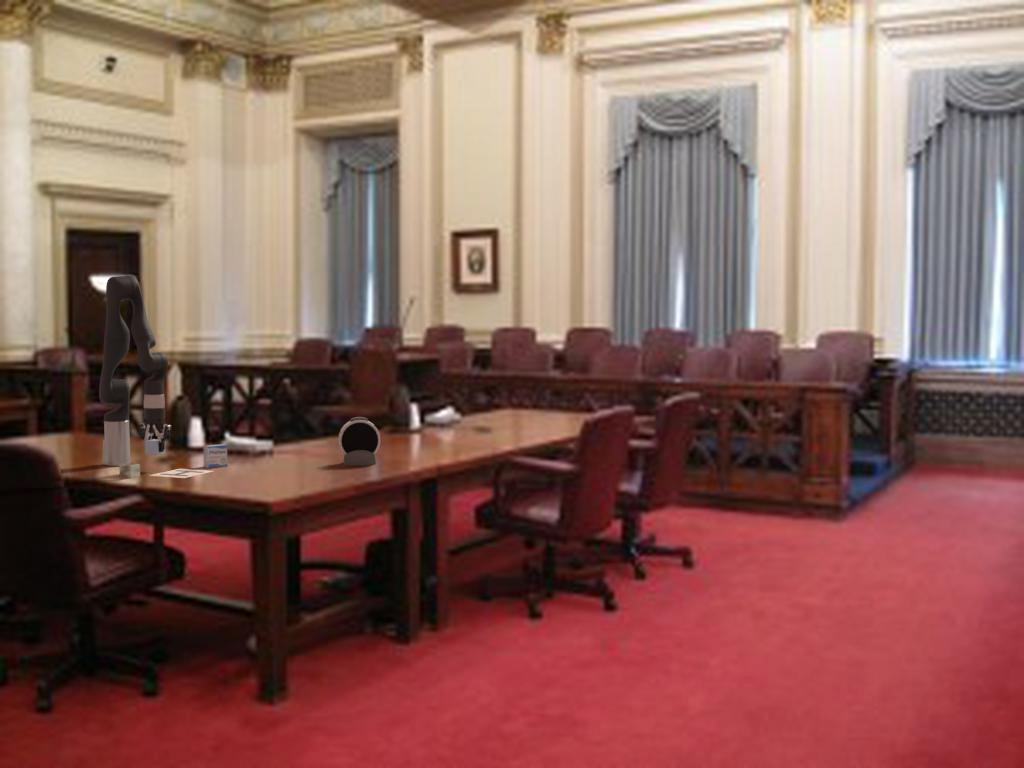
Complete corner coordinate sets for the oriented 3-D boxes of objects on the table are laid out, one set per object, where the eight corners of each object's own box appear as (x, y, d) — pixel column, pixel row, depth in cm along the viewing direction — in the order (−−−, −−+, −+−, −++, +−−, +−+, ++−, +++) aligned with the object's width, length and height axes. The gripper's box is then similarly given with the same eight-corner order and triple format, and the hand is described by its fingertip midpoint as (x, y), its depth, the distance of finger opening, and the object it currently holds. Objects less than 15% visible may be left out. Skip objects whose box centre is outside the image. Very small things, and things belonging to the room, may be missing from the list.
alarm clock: (339, 465, 451) (339, 418, 450) (338, 462, 461) (337, 416, 460) (381, 464, 455) (381, 418, 453) (379, 461, 465) (378, 415, 463)
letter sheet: (148, 476, 425) (148, 475, 425) (179, 469, 442) (179, 468, 442) (184, 479, 419) (184, 477, 419) (214, 472, 436) (214, 470, 436)
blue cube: (145, 454, 435) (145, 440, 434) (153, 452, 439) (153, 439, 439) (156, 455, 433) (156, 441, 432) (164, 453, 438) (164, 439, 437)
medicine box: (207, 469, 443) (207, 446, 443) (203, 467, 447) (203, 445, 446) (227, 467, 448) (227, 444, 447) (223, 465, 452) (222, 443, 451)
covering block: (119, 478, 420) (119, 465, 420) (129, 476, 425) (128, 463, 425) (130, 479, 419) (130, 465, 418) (140, 477, 423) (139, 463, 423)
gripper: (131, 406, 434) (132, 451, 435) (163, 408, 428) (164, 454, 430) (145, 404, 441) (146, 448, 442) (176, 406, 435) (177, 451, 437)
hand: (155, 451), depth 436 cm, fingers closed on blue cube, 5 cm apart
